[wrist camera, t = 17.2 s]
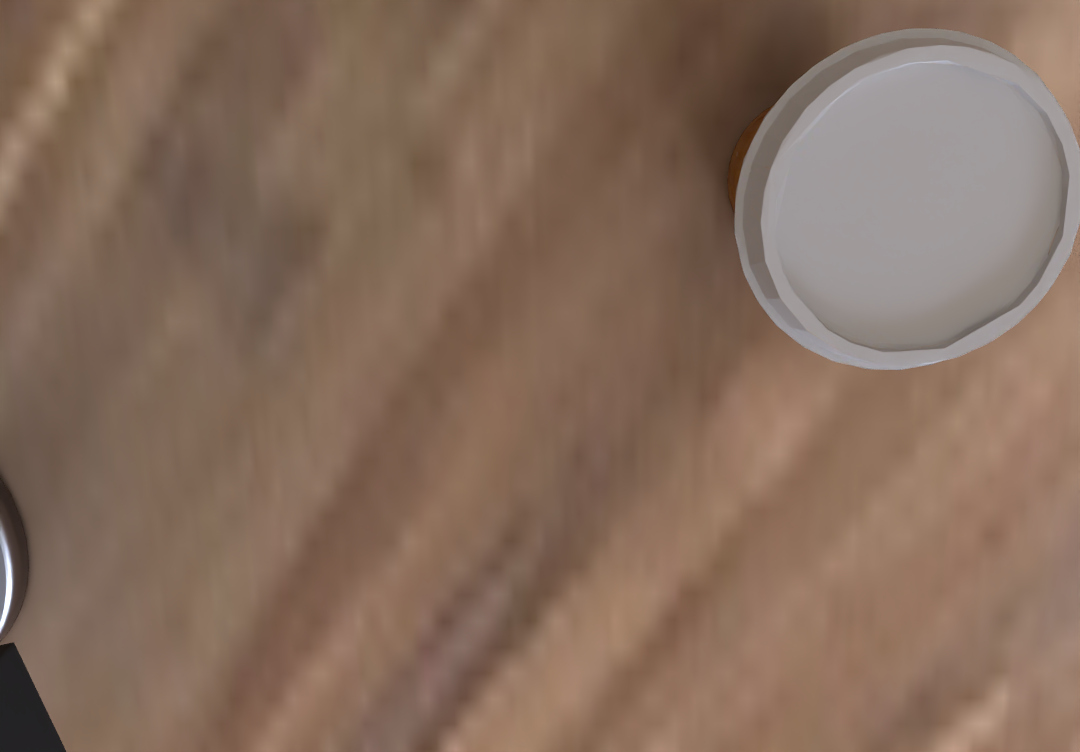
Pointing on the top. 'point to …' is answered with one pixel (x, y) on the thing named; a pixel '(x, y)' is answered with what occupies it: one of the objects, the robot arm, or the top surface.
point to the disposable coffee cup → (906, 199)
